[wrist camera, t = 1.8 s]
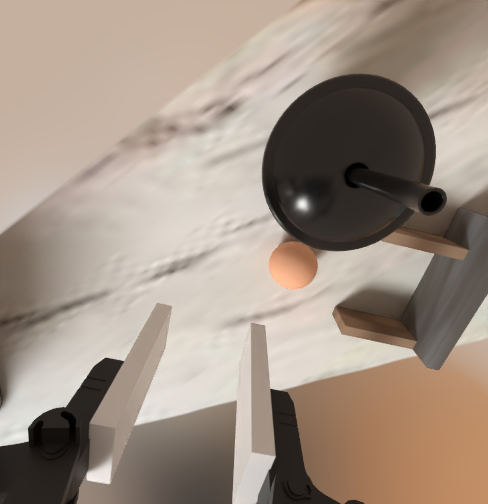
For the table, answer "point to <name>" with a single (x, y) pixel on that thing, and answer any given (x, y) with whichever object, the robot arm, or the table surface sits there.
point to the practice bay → (433, 292)
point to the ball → (293, 265)
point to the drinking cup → (350, 163)
